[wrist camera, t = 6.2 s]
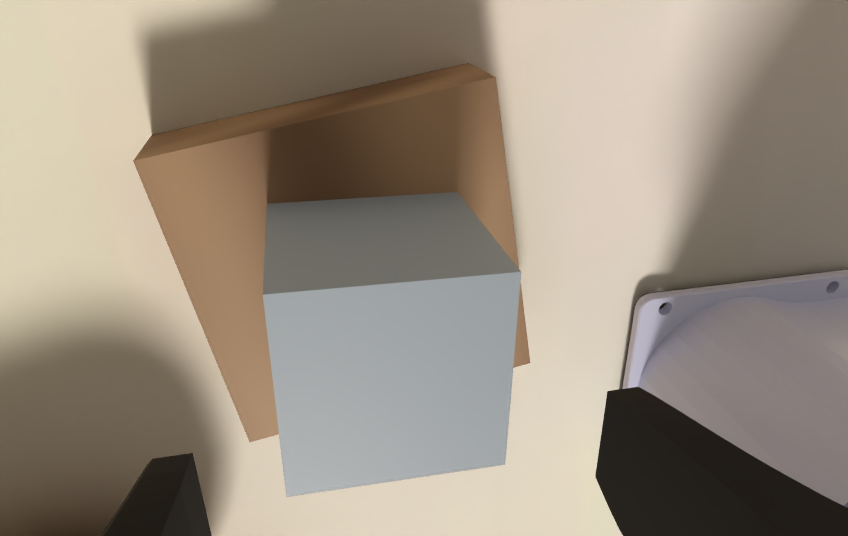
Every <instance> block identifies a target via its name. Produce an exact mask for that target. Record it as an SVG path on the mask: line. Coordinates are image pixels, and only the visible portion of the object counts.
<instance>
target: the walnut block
mask: <svg viewBox="0 0 848 536" xmlns="http://www.w3.org/2000/svg"><path fill="white" fill-rule="evenodd" d="M134 164H135V166H136V169H137V171H138V173H139V176H140V178H141V181H142V183H143V186H144V188H145V190H146V193H147V195H148V198H149V200H150V202H151V205H152V207H153V210H154V212H155V215H156V217H157V219H158V222H159V224H160V227H161V229H162V231H163V234H164V236H165V239H166V241H167V243H168V246H169V248H170V251H171V253H172V256H173V258H174V260H175V263H176V265H177V268H178V270H179V272H180V275H181V277H182V280H183V282H184V285H185V287H186V289H187V292H188V294H189V297H190V299H191V301H192V304H193V306H194V309H195V311H196V314H197V316H198V318H199V321H200V323H201V326H202V328H203V330H204V333H205V335H206V338H207V340H208V342H209V345H210V347H211V350H212V352H213V355H214V357H215V359H216V362H217V364H218V367H219V369H220V371H221V374H222V376H223V379H224V381H225V384H226V386H227V388H228V391H229V393H230V396H231V398H232V400H233V403H234V405H235V408H236V410H237V413H238V415H239V417H240V420H241V422H242V425H243V427H244V429H245V432H246V434H247V437H248V439H249V441H250V442H252V441H256V440H259V439H263V438H267V437H270V436H274V435H277V434H279V429H278V421H277V412H276V404H275V395H274V387H273V378H272V370H271V361H270V353H269V344H268V336H267V327H266V319H265V310H264V302H263V277H264V255H265V232H266V210H267V204H271V203H287V202H303V201H320V200H336V199H352V198H368V197H384V196H401V195H417V194H433V193H449V192H458V193H459V195H460V196H461V197H462V198H463V200H464V201H465V202H466V203H467V205H468V206H469V207H470V208H471V210H472V211H473V212H474V213H475V215H476V216H477V217H478V218H479V220H480V221H481V222H482V223H483V225H484V226H485V227H486V228H487V230H488V231H489V232H490V233H491V235H492V236H493V237H494V238H495V240H496V241H497V242H498V243H499V245H500V246H501V247H502V248H503V250H504V251H505V252H506V253H507V255H508V256H509V257H510V258H511V260H512V261H513V262H514V263H515V265H516V266H517V267H518V268H519V266H518V258H517V250H516V242H515V233H514V225H513V217H512V209H511V200H510V192H509V184H508V176H507V167H506V159H505V151H504V143H503V135H502V126H501V118H500V110H499V102H498V93H497V85H496V77H494V76H492V75H490V74H488V73H486V72H484V71H483V70H481V69H479V68H477V67H475V66H473V65H471V64H469V63H467V64H462V65H458V66H453V67H449V68H445V69H440V70H436V71H431V72H427V73H423V74H418V75H414V76H409V77H405V78H401V79H396V80H392V81H387V82H383V83H379V84H374V85H370V86H365V87H361V88H357V89H352V90H348V91H343V92H339V93H335V94H330V95H326V96H321V97H317V98H313V99H308V100H304V101H299V102H295V103H291V104H286V105H282V106H277V107H273V108H269V109H264V110H260V111H255V112H251V113H247V114H242V115H238V116H233V117H229V118H225V119H220V120H216V121H211V122H207V123H203V124H198V125H194V126H189V127H185V128H181V129H176V130H172V131H167V132H163V133H158V134H154V135H152V136H151V137H150V138H149V140H148V141H147V143H146V144H145V145H144V147H143V148H142V150H141V151H140V152H139V154H138V155H137V156H136V158H135V159H134ZM528 363H530V357H529V349H528V340H527V332H526V324H525V316H524V307H523V299H522V291H521V283H520V292H519V304H518V316H517V328H516V340H515V352H514V364H513V368H514V367H517V366H521V365H524V364H528Z"/></svg>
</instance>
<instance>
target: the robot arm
mask: <svg viewBox="0 0 848 536" xmlns="http://www.w3.org/2000/svg"><path fill="white" fill-rule="evenodd" d="M828 285H829V286H828ZM663 303H666V304H665V306H664V307H663V308H662V309H659V308H660V306H661V305H662V304H663ZM595 477H596V479H597V481H598V483H599V486H600V488H601V490H602V493H603V495H604V497H605V500H606V502H607V504H608V506H609V508H610V511H611V513H612V515H613V517H614V519H615V521H616V523H617V525H618V527H619V529H620V531H621V533H622V534H623V536H848V270H840V271H832V272H823V273H815V274H807V275H799V276H790V277H782V278H774V279H765V280H757V281H749V282H741V283H732V284H724V285H716V286H708V287H699V288H691V289H683V290H674V291H666V292H658V293H650V294H646V295H644V296H642V297H641V298H640V299H639V300H638V301H637V303H636V306H635V311H634V317H633V324H632V330H631V336H630V343H629V349H628V356H627V362H626V369H625V375H624V381H623V388H622V389H619V390H613V391H608V392H607V399H606V406H605V413H604V420H603V427H602V434H601V441H600V448H599V455H598V462H597V469H596V476H595ZM101 536H211V532H210V527H209V523H208V519H207V514H206V510H205V506H204V501H203V497H202V493H201V488H200V484H199V479H198V475H197V471H196V466H195V462H194V458H193V453H190V454H183V455H176V456H170V457H163V458H156V459H152V460H151V461H150V462H149V464H148V465H147V466H146V467H145V469H144V470H143V472H142V474H141V475H140V477H139V478H138V480H137V482H136V483H135V485H134V486H133V488H132V490H131V491H130V493H129V494H128V496H127V497H126V499H125V500H124V502H123V504H122V505H121V507H120V508H119V510H118V511H117V513H116V514H115V516H114V517H113V519H112V520H111V522H110V523H109V525H108V526H107V528H106V529H105V531H104V532H103V534H102V535H101Z"/></svg>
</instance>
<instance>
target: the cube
mask: <svg viewBox="0 0 848 536" xmlns="http://www.w3.org/2000/svg"><path fill="white" fill-rule="evenodd" d="M520 280H521V271H520V270H519V268H518V267H517V266H516V265H515V263H514V262H513V261H512V260H511V258H510V257H509V256H508V255H507V253H506V252H505V251H504V250H503V248H502V247H501V246H500V245H499V243H498V242H497V241H496V240H495V238H494V237H493V236H492V235H491V233H490V232H489V231H488V230H487V228H486V227H485V226H484V225H483V223H482V222H481V221H480V220H479V218H478V217H477V216H476V215H475V213H474V212H473V211H472V210H471V208H470V207H469V206H468V205H467V203H466V202H465V201H464V200H463V198H462V197H461V196H460V195H459V193H458V192H449V193H433V194H417V195H401V196H384V197H368V198H352V199H336V200H320V201H303V202H287V203H271V204H267V210H266V232H265V255H264V277H263V302H264V310H265V319H266V327H267V336H268V344H269V353H270V361H271V370H272V378H273V387H274V395H275V404H276V412H277V421H278V429H279V438H280V446H281V455H282V463H283V472H284V480H285V489H286V497H290V496H297V495H304V494H310V493H317V492H324V491H331V490H337V489H344V488H351V487H357V486H364V485H371V484H378V483H384V482H391V481H398V480H404V479H411V478H418V477H424V476H431V475H438V474H445V473H451V472H458V471H465V470H471V469H478V468H485V467H492V466H498V465H505V459H506V447H507V436H508V424H509V412H510V400H511V388H512V376H513V364H514V352H515V340H516V328H517V316H518V304H519V292H520Z"/></svg>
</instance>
